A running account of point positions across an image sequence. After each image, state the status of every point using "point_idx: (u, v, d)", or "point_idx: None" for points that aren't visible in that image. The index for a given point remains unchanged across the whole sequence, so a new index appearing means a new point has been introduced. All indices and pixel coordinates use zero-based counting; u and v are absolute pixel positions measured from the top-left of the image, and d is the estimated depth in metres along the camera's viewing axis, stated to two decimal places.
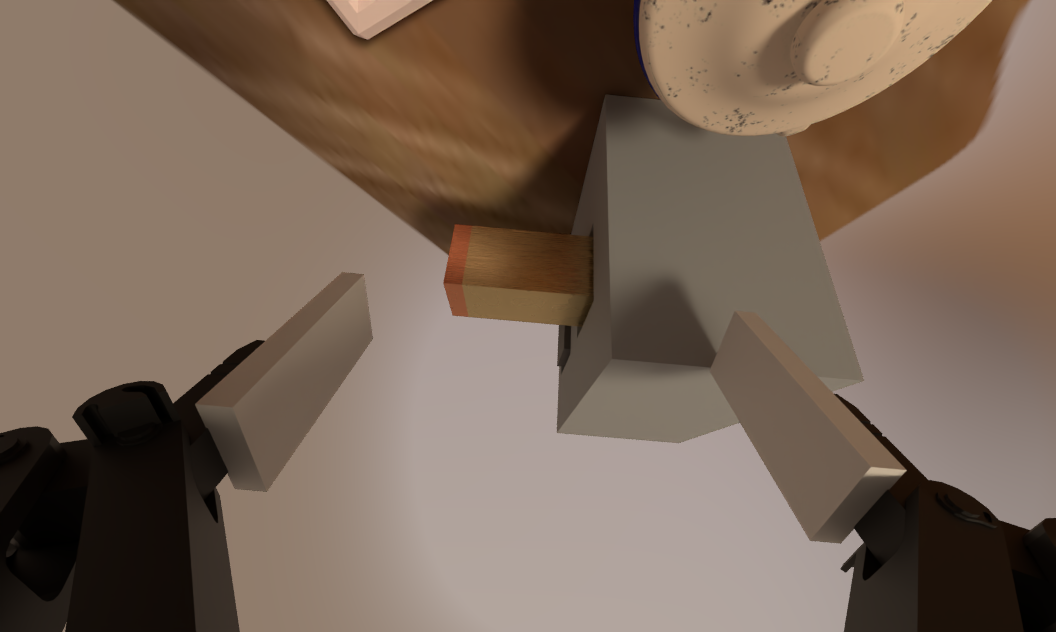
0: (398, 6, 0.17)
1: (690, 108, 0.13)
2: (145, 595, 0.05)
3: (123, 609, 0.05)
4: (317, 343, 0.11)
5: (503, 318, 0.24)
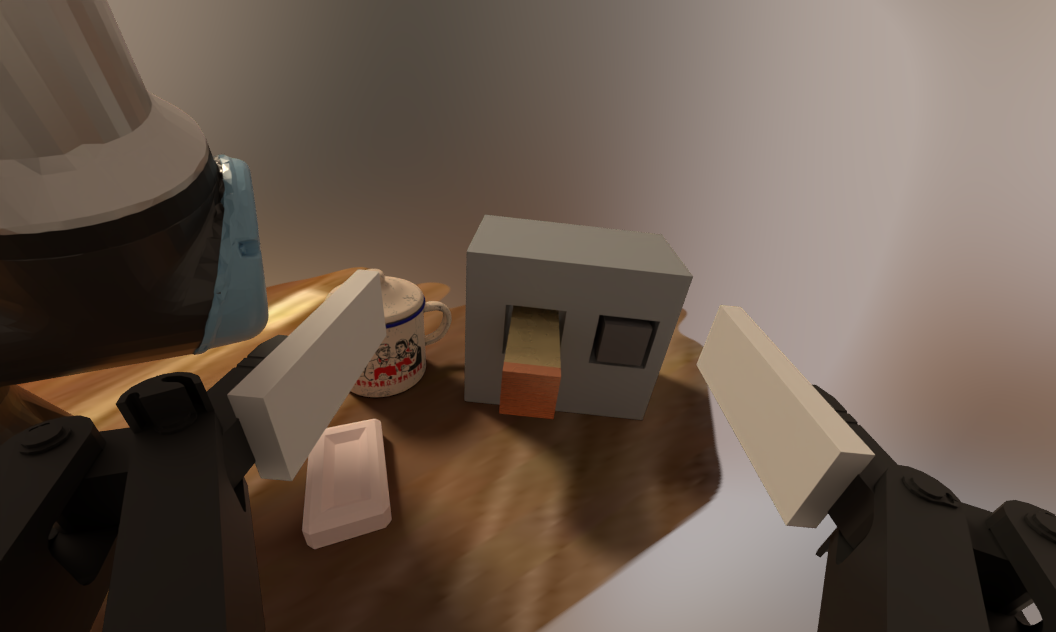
0: (378, 474, 0.28)
1: (402, 308, 0.35)
2: (179, 579, 0.05)
3: (159, 591, 0.05)
4: (337, 338, 0.11)
5: (557, 349, 0.29)
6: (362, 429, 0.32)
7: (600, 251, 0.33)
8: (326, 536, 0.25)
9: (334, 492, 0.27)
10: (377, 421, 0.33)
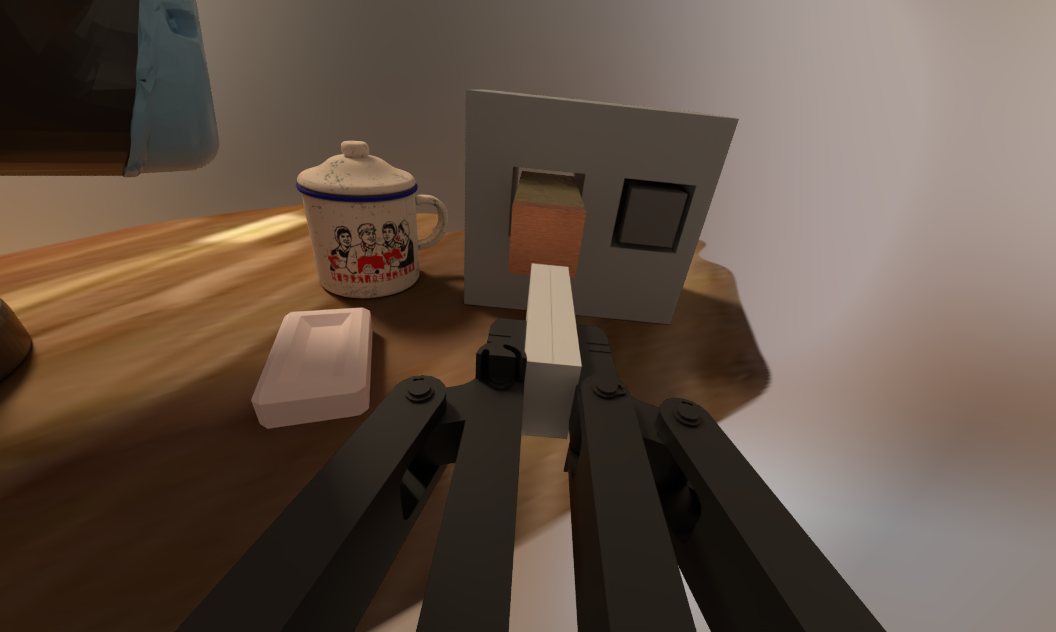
0: (356, 354, 0.23)
1: (390, 182, 0.29)
2: (487, 514, 0.06)
3: (474, 515, 0.06)
4: None
5: (578, 197, 0.24)
6: (346, 314, 0.26)
7: None
8: (281, 411, 0.20)
9: (301, 369, 0.22)
10: (366, 310, 0.27)
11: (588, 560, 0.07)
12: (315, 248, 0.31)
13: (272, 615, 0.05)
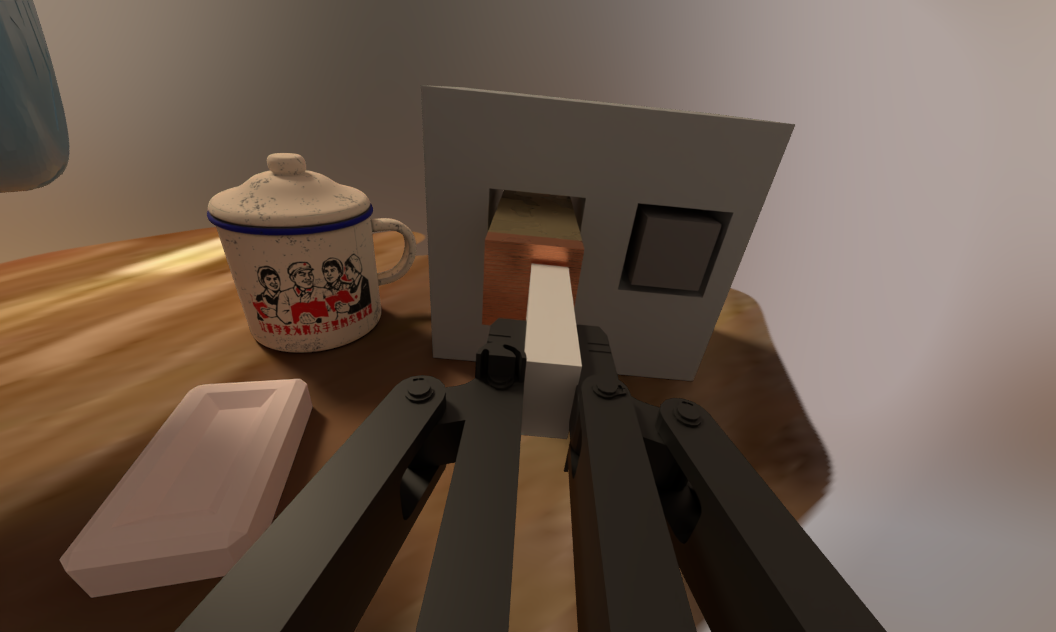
0: (254, 468, 0.16)
1: (330, 207, 0.22)
2: (487, 514, 0.06)
3: (474, 515, 0.06)
4: None
5: (573, 224, 0.18)
6: (270, 391, 0.20)
7: None
8: (107, 576, 0.13)
9: (169, 491, 0.15)
10: (300, 383, 0.20)
11: (588, 560, 0.07)
12: (238, 291, 0.24)
13: (271, 615, 0.05)
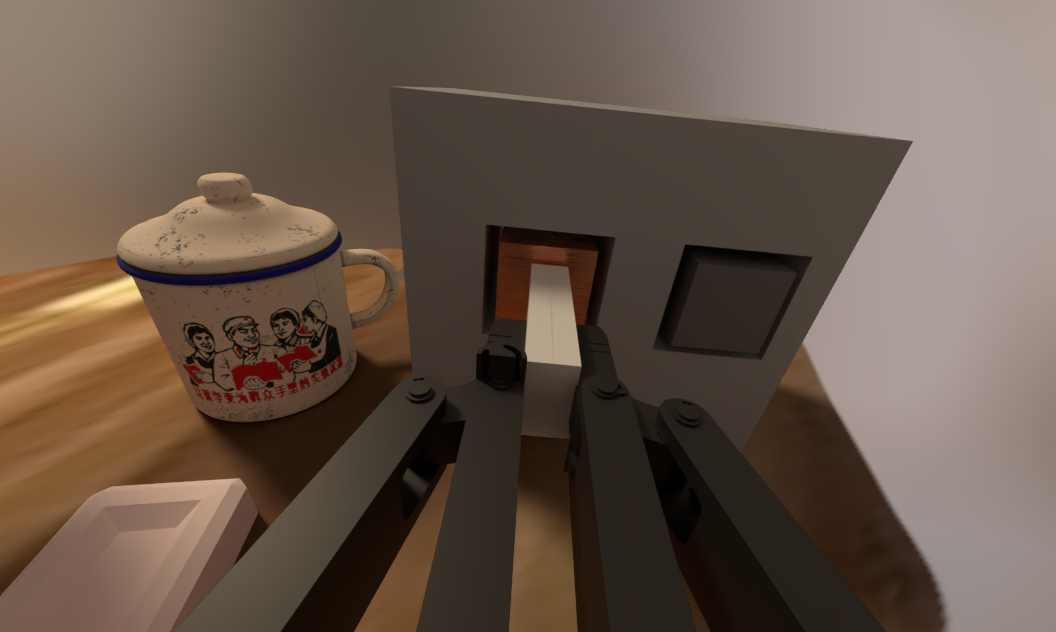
0: None
1: (280, 244, 0.17)
2: (487, 514, 0.06)
3: (474, 515, 0.06)
4: None
5: None
6: (191, 504, 0.14)
7: None
8: None
9: None
10: (237, 488, 0.15)
11: (588, 560, 0.07)
12: None
13: (272, 615, 0.05)
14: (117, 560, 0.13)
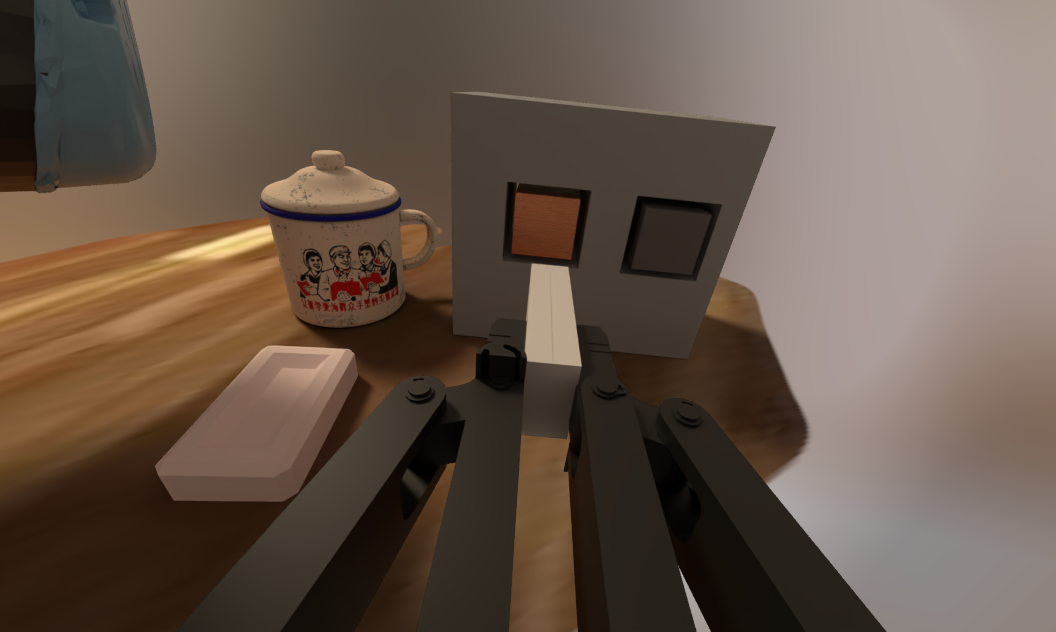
0: (302, 417, 0.18)
1: (367, 198, 0.26)
2: (487, 514, 0.06)
3: (474, 515, 0.06)
4: None
5: None
6: (323, 357, 0.23)
7: None
8: (186, 485, 0.16)
9: (237, 427, 0.18)
10: (349, 352, 0.23)
11: (588, 560, 0.07)
12: (283, 272, 0.27)
13: (272, 615, 0.05)
14: (285, 379, 0.21)
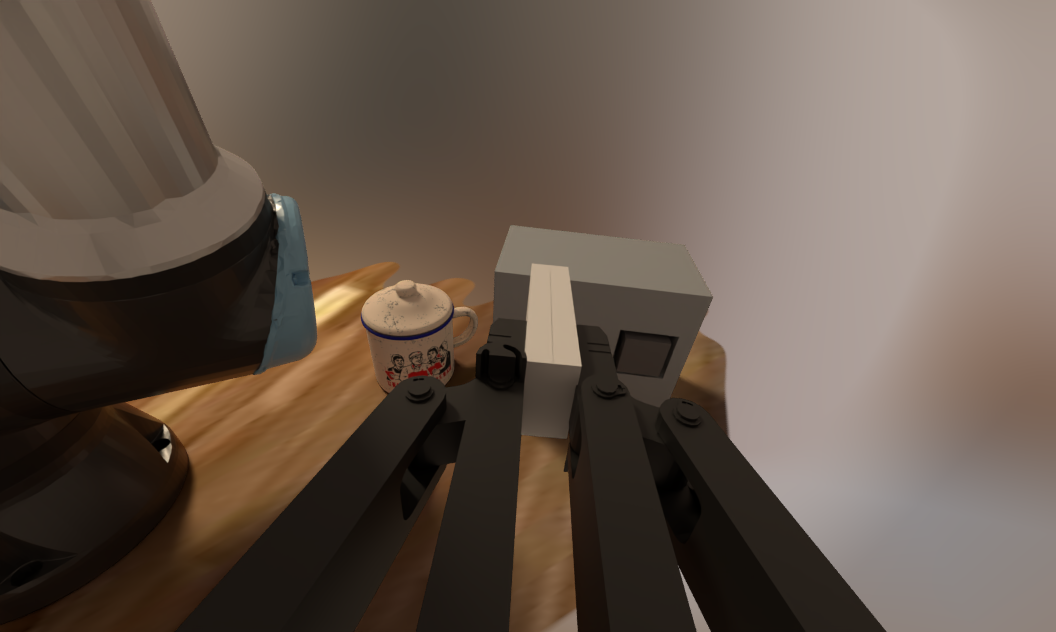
0: None
1: (433, 318, 0.37)
2: (487, 514, 0.06)
3: (474, 515, 0.06)
4: None
5: None
6: None
7: (622, 268, 0.34)
8: None
9: None
10: None
11: (588, 560, 0.07)
12: (375, 362, 0.39)
13: (272, 615, 0.05)
14: None
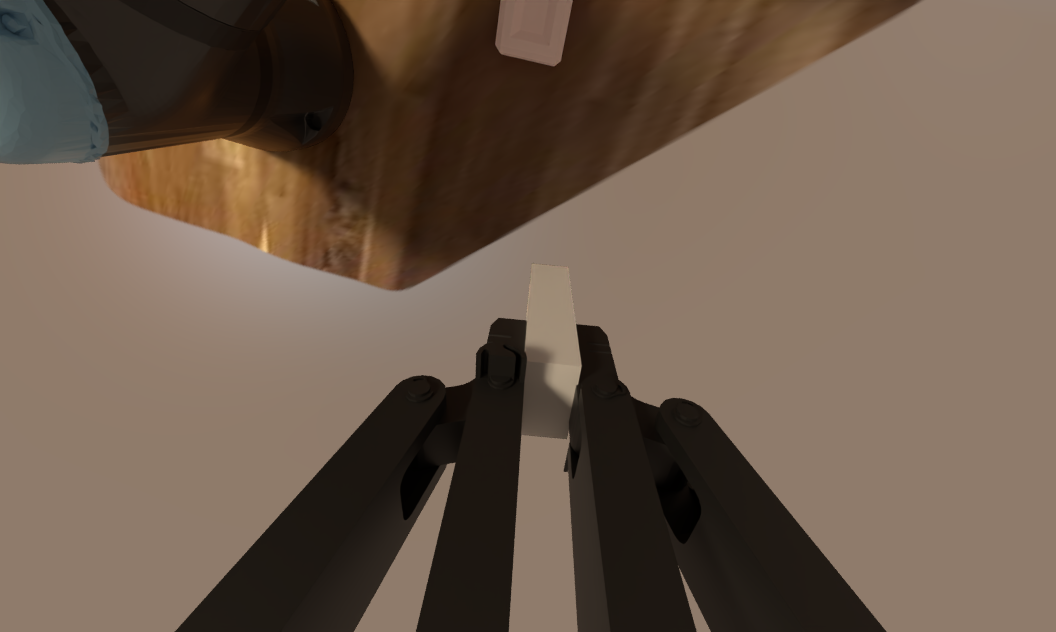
0: (562, 18, 0.29)
1: None
2: (487, 514, 0.06)
3: (474, 515, 0.06)
4: None
5: None
6: None
7: None
8: (511, 55, 0.31)
9: (523, 13, 0.30)
10: None
11: (588, 560, 0.07)
12: None
13: (272, 615, 0.05)
14: None
